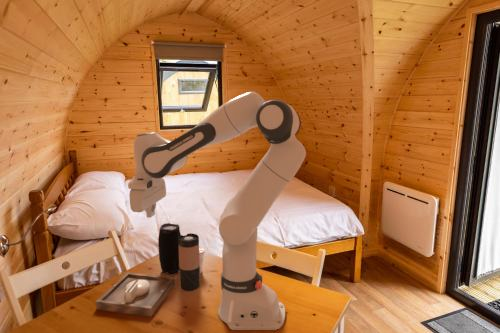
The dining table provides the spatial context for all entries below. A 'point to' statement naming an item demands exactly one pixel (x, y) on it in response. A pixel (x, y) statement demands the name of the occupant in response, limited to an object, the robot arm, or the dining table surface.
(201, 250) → the smoothie
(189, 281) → the travel mug
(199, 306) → the dining table surface
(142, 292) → the beige rounded piece
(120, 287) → the panel
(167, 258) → the portable speaker
